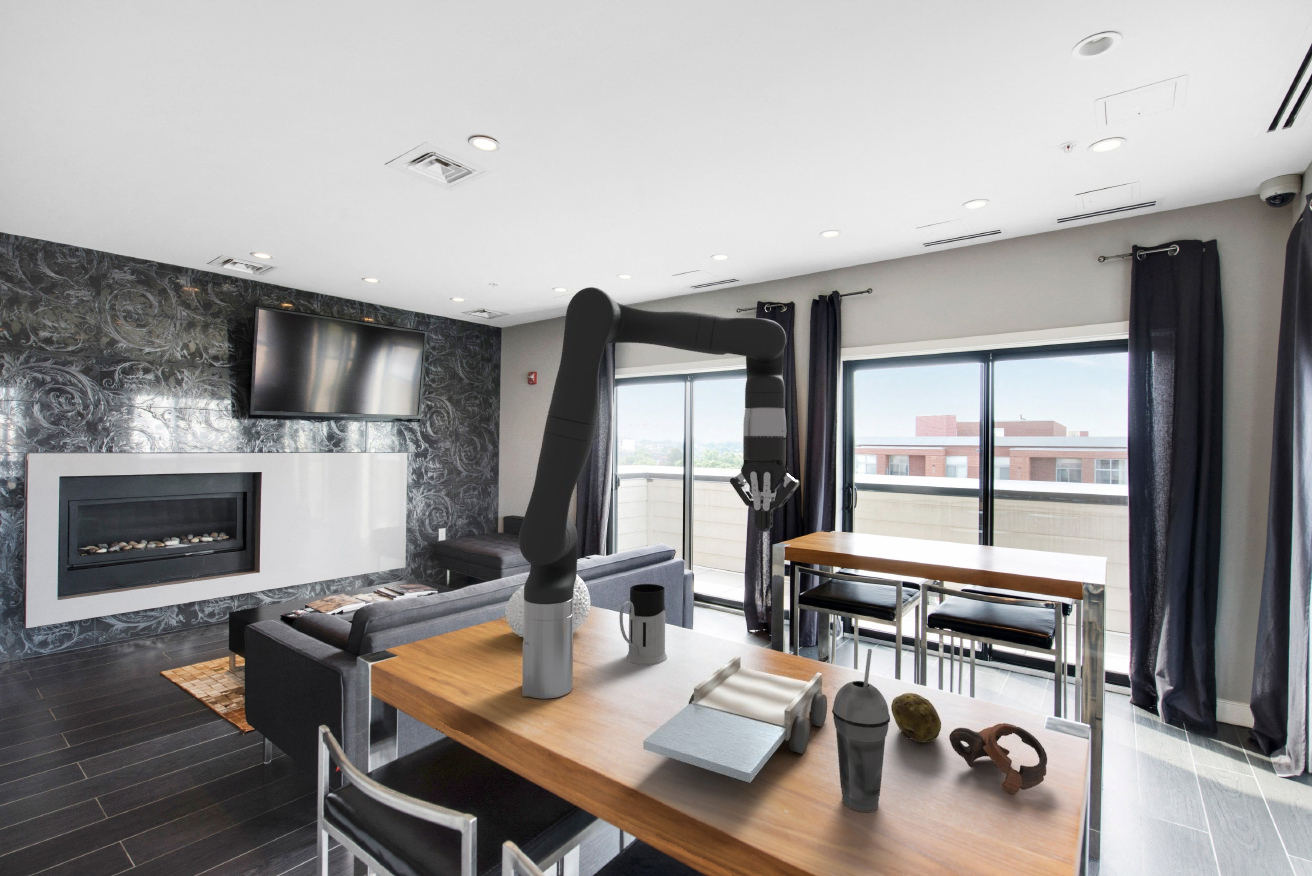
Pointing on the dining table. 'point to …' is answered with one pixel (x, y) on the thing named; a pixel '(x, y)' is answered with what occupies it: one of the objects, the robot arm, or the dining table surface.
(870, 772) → the beverage cup
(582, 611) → the cauliflower
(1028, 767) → the brown curved piece
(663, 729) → the panel
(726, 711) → the flatbed cart
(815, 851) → the dining table surface
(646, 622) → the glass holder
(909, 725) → the potato
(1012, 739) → the dining table surface
